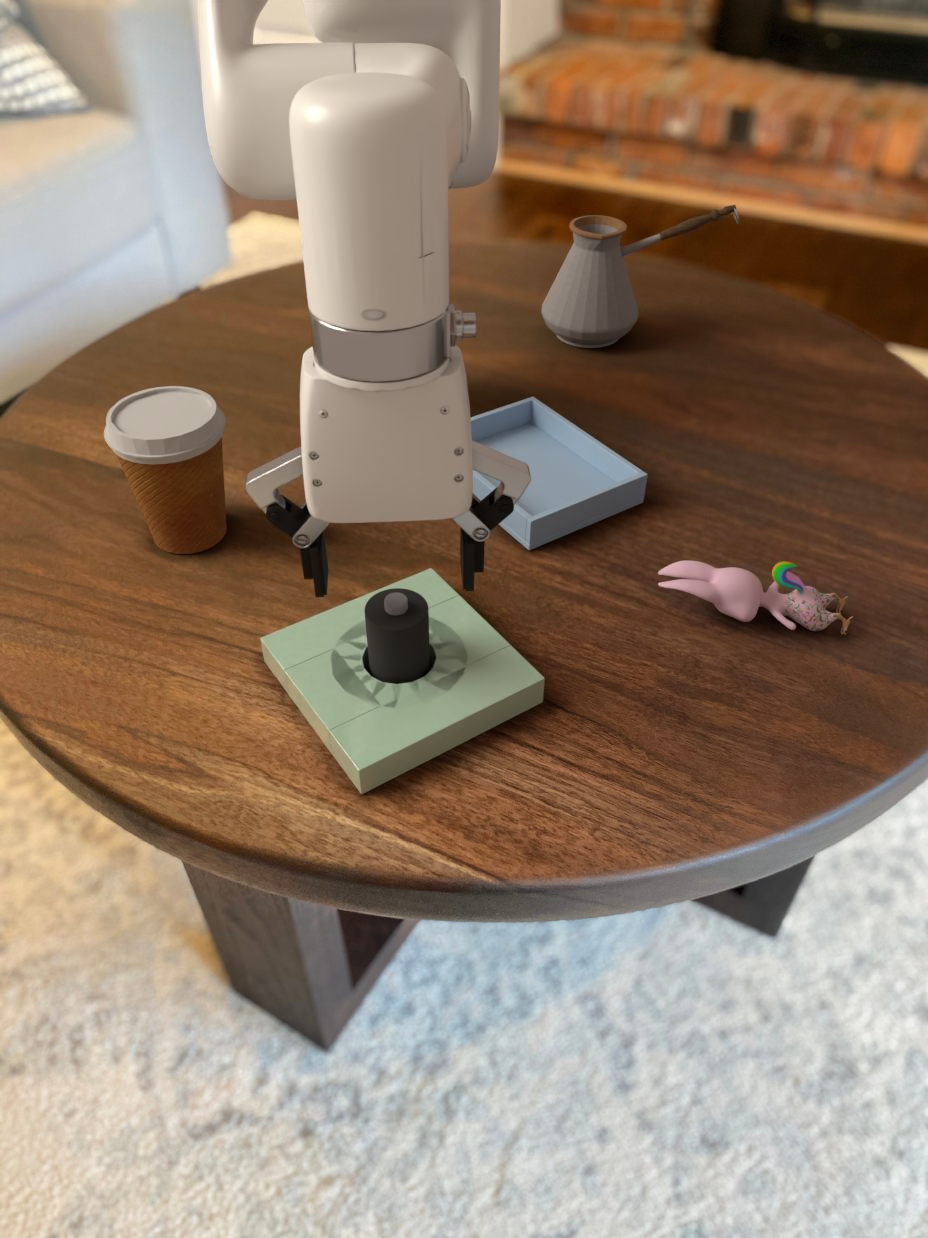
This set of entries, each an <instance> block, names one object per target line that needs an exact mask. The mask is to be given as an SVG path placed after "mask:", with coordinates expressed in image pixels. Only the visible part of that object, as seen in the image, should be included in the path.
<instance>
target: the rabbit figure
mask: <svg viewBox="0 0 928 1238" xmlns="http://www.w3.org/2000/svg"><path fill="white" fill-rule="evenodd" d="M796 567H798V565H797V564H795V563H794V562H791V561H786V560H785V561H783V560H782V561H779V562H777V563H776V564H775V565H774V566H773V567H772V570H771V576H772V580H773V582H772V583H771V584H770V585H769V587H768V588H767V590H766V592H764V589H763V585H762V582H761V580H760V578H759V577H758V576H757V575H756V574H754V573H753V572H752V571H749V570H747V569H745V568H741V567H733V566H732V567H730V566H729V567H721V568H718V567H714V566H713V565H710V564H709V563H706V562H703V561H697V560H690V559H689V560H686V559H685V560H678V561H675V562H673V563H671V564H668V565H667V566H664V567H663V568H661V569H660V570H658V572H657V575H659V576H665V577H672V578H677V579H672V580H667V581H661V582H658V583H657V585H658V587H660V588H664V589H670V590H677V591H680V592H684V593H688V594H690V595H693V596H695V597H697V598H699V599H702V600H704V601H706V602H709V603H712V604H713V606H714V607H715V609H716V610H718V612H720V613H721V614H724V615H726V616H728V617H731V618H733V619H736V620H737V621H740V622H743V623H749V622H751V621H752V620H754V618H755V617H756V616H757V613H758V611H759V607H760V608H761V607H762V608H765V609H766V610H767V611H768V612H769V613H770V614H771V615H772V616H773V617H774V618H775V619H776V620H777V621H778V622H780V623H781V624H782V625H784V627H786V628H787V629H789V630H791V631H794V630H796V628H797V624H799V625H800V626H802V627H803V628H804V629H807V630H808V631H812V632H819V631H823V630H825V629H826V628H827V627H828V626H829V625H831V624H832V623H833V622H835V621H836V620H840V621H841V622H842V625H841V627H840V634H841V635H847V633H846V631H847V630H848V627H849V625H850V624H851V619H853V616H849V617H848V618H847V619H846V618H845V617H844V616H843V615H842V613H841V611H842V610H843V607H844V605H845V604H846V599H847V598H849V596H847V595H846V596H845V597H843V598H841V597H839V595H837V593H836V592H830V593H823V592H819V591H818V589H816V588H815V587H813V586H810V585H805V584H804V582H803V581H802V579H801V578H800V577H799V576H798V575H796V574H794V573H792V572H791V571H790V570H792V569H793V568H796ZM780 587H782V588H785V589H794V590H792V591H791V592H788V593H780V592H779V589H780ZM832 601H836V602H837V605H836V609H835V612H831V611H829V610H826V608H828V606H829V604H830V603H831V602H832ZM786 617H789V618H791V620H793V621H794V622H796V623H797V624H796V623H794V622H793V621H791V620H789V619H787V618H786Z"/></svg>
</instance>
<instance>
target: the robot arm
mask: <svg viewBox="0 0 928 1238" xmlns="http://www.w3.org/2000/svg"><path fill="white" fill-rule="evenodd" d="M268 2H269V0H197V29H198V45H199V46H198V47H199V62H200V63H199V64H200V80H201V82H200V83H201V94H202V95H201V96H202V109H203V118H204V124H205V131H206V137H207V143H208V148H209V151H210V154H211V155H210V156H211V158H212V161H213V163H214V165H215V168H216V170H217V171H218V173H219V175H220V177H221V179H222V180H223V181H224V182H225V184H226V185H228V187H229V188H230V189H232V190H233V191H235V192H236V193H237V194H239V195H241V196H243V197H245V198H248V199H252V200H257V201H265V202H266V201H275V202H276V201H278V202H279V201H280V202H283V201H284V202H285V201H287V202H288V201H296V207H297V215H298V225H299V233H300V242H301V244H300V245H301V251H302V253H301V254H302V260H303V261H302V262H303V269H304V279H305V288H306V289H305V290H306V298H307V299H306V300H307V307H308V308H307V309H308V317H309V326H310V335H311V336H310V337H311V344H312V346H311V347H309V348H307V349H306V350H305V351H304V352H303V354H302V358H301V359H302V360H301V367H300V378H299V379H300V380H299V381H300V382H299V424H300V425H299V426H300V446H298V447H295V448H294V449H292V450H290V451H288V452H286V453H284V454H282V455H280V456H278V457H276V458H274V459H273V460H270V461H268V462H267V463H264V464H263V465H261V466H259V467H257V468H255V469H252V470H250V471H249V472H248V473H247V475H246V477H245V478H246V479H245V485H244V491H245V492H246V494H247V495H248V496H249V497H250V498H251V500H252V501H253V502H254V503H255V505H256V506H257V507H258V509H260V510H261V511H262V512H263V513H264V514H265V519H266V521H267V522H268V523H270V524H271V525H273V526H274V527H275V528H277V529H279V530H280V531H281V532H283V533H284V534H286V535H287V536H289V537H290V538H291V539H292V543H293V545H294V546H295V547H296V548H299V553H300V560H301V566H302V574H303V578H304V580H313V585H314V586H313V587H314V595H315V598H324V597H325V596H327V595H328V583H329V559H328V551H327V543H326V535H325V534H326V533H325V530H326V528H328V526H329V525H330V524H331V523H332V524H357V523H358V524H361V523H363V524H364V523H392V522H393V523H394V522H416V521H419V522H420V521H436V520H437V521H440V520H448V519H451V520H452V521H453V522H454V523H455V524H457V525H458V526H459V545H460V546H459V565H460V574H461V584H462V590H465V592H475V573H480V574H481V573H484V572H485V541H487V540H488V539H489V538H490V536H491V531H493V529H495V528H496V527H497V526H499V523H500V522H502V521H503V520H504V519H505V518H506V517H508V516H509V515H510V514H511V513H512V512H513V510H514V505H515V503H516V502H517V500H519V499H520V497H521V496H522V494H523V493H524V491H525V490H526V488H527V486H528V485H529V483H530V481H531V475H530V470H529V466H528V465H527V464H526V463H524V462H522V461H520V460H517V459H515V458H513V457H510V456H508V455H506V454H503V453H501V452H499V451H496V450H494V449H492V448H489V447H487V446H485V445H482V444H480V443H478V442H475V441H473V440H472V433H471V405H470V396H469V387H468V378H467V372H466V366H465V362H464V358H463V353H462V350H461V348H460V347H459V346H458V345H457V344H456V342H458V341H459V342H460V341H461V342H462V341H463V340H464V339H474V338H477V316H476V312H463V311H462V309H457V310H455V305H454V304H450V254H449V252H450V226H449V225H450V223H449V222H450V221H449V220H450V218H449V217H450V215H449V214H450V213H449V212H450V210H449V208H450V207H449V202H450V201H449V190H451V189H466V188H473V187H476V186H480V185H481V184H483V183H484V182H486V181H487V180H488V179H489V178H490V177H491V175H492V173H493V171H494V169H495V165H496V162H497V156H498V150H499V149H498V148H499V133H500V82H501V81H500V79H501V78H500V77H501V76H500V75H501V74H500V72H501V70H500V69H501V15H502V14H501V12H502V10H501V8H502V4H501V2H502V0H302V5H303V11H304V15H305V18H306V21H307V24H308V27H309V29H310V31H311V32H312V34H313V35H314V37H315V38H316V39H317V40H318V41H319V42H287V43H285V42H284V43H283V42H282V43H281V42H280V43H277V42H276V43H257V44H256V43H255V44H254V32H255V28H256V24H257V21H258V19H259V16H260V14H261V13H262V11H263V9H264V8H265V7H266V5H267V4H268ZM473 470H475V471H477V472H480V473H482V474H484V475H487V476H489V477H492V478H494V479H497V480H499V481H501V482H500V485H499V487H497V488H495V489H494V490H493V491H492V492H491V493H490V494H488V495H487V496H486V497H485V498H484V499H483V500H480V499H479V498H478V497H477V496H476V495H475V494H474V493H473ZM301 477H302V478H303V487H304V489H303V490H304V495H305V501H304V502H303V503H302V505H301V506H299V505H297V504H296V503H295V502H293V501H292V500H291V499H289V498H288V497H286V496H285V495H283V494H281V493H280V492H279V488H281V487H283V486H285V485H287V484H289V483H291V482H293V481H295V480H297V479H299V478H301Z"/></svg>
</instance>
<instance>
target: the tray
mask: <svg viewBox="0 0 928 1238" xmlns="http://www.w3.org/2000/svg"><path fill="white" fill-rule="evenodd" d="M470 418H471V433H472V440H473V441H475V442H478V443H480V444H482V445H485V446H487V447H489V448H492V449H494V450H496V451H499V452H501V453H503V454H506V455H508V456H510V457H513V458H515V459H517V460H520V461H522V462H524V463H526V464H527V465H528V466H529V470H530V475H531V481H530V483H529V485H528V486H527V488H526V490H525V491H524V493H523V494H522V496H521V497H520V499H519V500H517V502H516V503H515V505H514V510H513V512H512V513H511V514H510V515H509V516H508V517H506V518H505V519H504V520H503V521H502V522H500V523H499V524H498V526H500V527H501V528H502V529H503V530H504V531H505V532H507V534H509V535H510V536H512V537H513V539H515V540H516V541H517V542H518V543H520V544H521V546H523V547H524V548H526V549H527V550H528V551H532V550H534V549H536V548H539V547H541V546H543V545H545V544H548V543H550V542H554V541H555V540H557V539H560V538H563V537H565V536H568V535H569V534H572V533H574V532H577V531H579V530H582V529H584V528H586V527H588V526H591V525H593V524H595V523H598V522H600V521H602V520H605V519H607V518H610V517H612V516H614V515H617V514H619V513H622V512H625V511H627V510H629V509H631V508H633V507H636V506H638V505H641V504H643V503H644V499H645V494H646V489H647V482H648V473H647V472H645V471H644V470H642V469H641V468H639V467H638V466H636V465H634V464H633V463H632V462H631V461H628V459H626V458H624V457H623V456H621V455H620V454H619V453H617V452H615V451H614V450H613V449H611V448H610V447H608V446H606V444H604V443H603V442H601V441H600V440H598V439H596V437H594V436H592V435H590V434H589V433H587V432H586V431H584V430H583V429H581V428H580V426H579V427H578V426H577V425H576V424H574V423H573V422H572V421H570V420H568V419H567V418H565V417H564V416H562V415H561V414H559V413H558V412H556V411H555V410H553V409H552V408H551V407H549V406H548V405H546V404H545V403H543V402H542V401H540V400H539V399H538V398H536V397H535V396H531V397H527V398H524V399H522V400H518V401H516V402H513V403H510V404H506V405H503V406H500V407H498V408H494V409H493V410H489V411H485V412H483V413H479V414H477V415H473V416H472V417H471V416H470ZM500 482H501V481H499V480H497V479H494V478H492V477H489V476H487V475H484V474H482V473H480V472H477V471H475V470H473V493H474V494H475V495H476V496H477V497H478V498H479V499H480V500H483V499H484V498H485V497H486V496H487V495H488V494H490V493H491V492H492V491H493V490H494V489H495V488H497V487H499V485H500Z"/></svg>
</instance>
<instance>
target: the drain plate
mask: <svg viewBox="0 0 928 1238" xmlns="http://www.w3.org/2000/svg"><path fill="white" fill-rule="evenodd" d="M394 588H402V589H408V590H412V591H415V592H417V593H418V594H420V595H421V596H422V597H423V598H424V599H425V600H426V602H427V604H428V611H429V648H430V672H429V673H428V674H427V675H426V676H424V677H422V678H420V679H418V680H416V681H413V682H409V683H401V684H393V683H386V682H382V681H380V680H378V679H376V678H374V677H372V676H371V675H370V669H369V657H368V646H367V634H366V623H365V611H364V610H365V605H366V603H367V602H368V600H369V599H370V598H371V597H372V596H373V595H375V594H377V593H379V592H381V591H384V590H387V589H394ZM259 641H260V645H261V646H260V647H261V650H262V656H263V661H264V663H265V664H266V666H267V667H268V668H269V670H270V671H271V673H272V674H273V676H274V677H275V678H276V680H277V681H278V682H279V683H280V685H281V687H282V688H283V689H284V690H285V692H286V693H287V694H288V696H289V698H290V699H291V700H292V702H293V703H294V704H295V706H296V707H297V709H298V710H299V711H300V712H301V714H302V716H303V717H304V718H305V719H306V721H307V723H308V724H309V725H310V727H311V728H312V729H313V730H314V732H315V733H316V735H317V736H318V737H319V739H320V740H321V741H322V743H323V744H324V745H325V747H326V748H327V750H328V751H329V752H330V754H331V755H332V756H333V758H334V759H335V760H336V762H337V763H338V765H339V766H340V767H341V769H342V770H343V771H344V773H345V774H346V776H347V778H349V780H350V781H351V782H352V784H353V785H354V787H355V789H357V791H358V793H360V795H364V794H365V793H368V792H369V791H372V790H374V789H375V788H378V787H380V786H381V785H384V784H385V783H387V782H389V781H392V780H393V779H395V778H397V777H399V776H401V775H403V774H405V773H407V772H409V771H411V770H414V769H415V768H416V767H419V766H420V765H423V764H425V763H426V762H428V761H430V760H432V759H435V758H436V757H438V756H440V755H442V754H444V753H446V752H448V751H450V750H452V749H454V748H457V746H460V745H462V744H464V743H466V742H467V741H469V740H471V739H473V738H475V737H477V736H479V735H481V734H483V733H485V732H487V731H489V730H491V729H493V728H495V727H497V726H498V725H501V724H502V723H506V722H507V721H509V720H511V719H513V718H514V717H517V716H519V715H521V714H523V713H524V712H526V711H529V710H530V709H532V708H534V707H536V706H538V705H540V704H542V703H544V692H545V681H546V679H545V676H543V675H542V674H541V672H539V671H538V670H537V669H536V668H535V667H534V666H533V665H532V664H531V663H530V662H529V661H528V660H527V659H526V658H525V657H524V656H523V655H522V654H521V653H520V652H519V651H517V650H516V649H515V648H514V647H513V646H512V645H511V643H509V641H507V639H505V637H503V636H502V635H501V634H500V633H499V632H498V631H497V630H496V629H495V628H494V627H493V626H492V625H491V624H490V623H489V622H488V621H487V620H486V619H485V618H484V617H483V616H481V614H480V613H479V612H478V611H476V610H475V608H473V607H472V606H471V604H469V603H468V602H467V601H466V600H465V599H464V598H463V597H462V596H461V595H460V594H459V593H458V592H457V591H456V590H455V589H454V588H453V587H452V586H451V585H449V583H448V582H446V581H445V580H444V578H442V577H441V576H440V575H439V573H438V572H436V570H434V569H433V568H432V567H429V568H427V569H425V570H422V571H420V572H417V573H415V574H413V575H410V576H408V577H405V578H403V579H401V580H398V581H395V582H393V583H391V584H389V585H386V586H384V587H381V588H379V589H376V590H374V591H371V592H368V593H365V594H363V595H361V596H359V597H357V598H354V599H351V600H349V601H347V602H344V603H342V604H339V605H336V606H335V607H332V608H330V609H327V610H325V611H322V612H320V613H318V614H314V615H312V616H310V617H307V618H305V619H302V620H300V621H298V622H295V623H293V624H291V625H288V626H286V627H283V628H280V629H278V630H275V631H273V632H271V633H268V634H266V635H264V636H261V637H260V638H259Z"/></svg>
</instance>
